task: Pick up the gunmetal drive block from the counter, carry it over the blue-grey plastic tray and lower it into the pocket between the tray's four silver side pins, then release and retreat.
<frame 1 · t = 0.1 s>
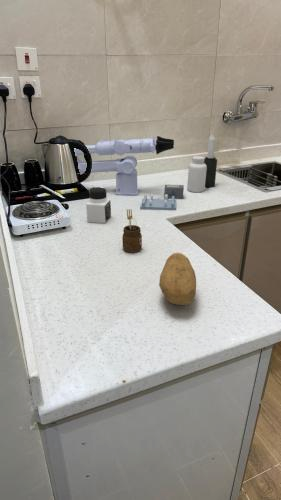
hand: (173, 143, 149), 22 cm above the worktop, tool horizontal, fingers open, 7 cm apart
tray: (158, 205, 145), on the worktop
medicine bottle: (99, 219, 132), on the worktop
potato: (176, 297, 87), on the worktop
utensil holder: (132, 249, 110), on the worktop
candle: (208, 186, 169), on the worktop
pill bottle: (195, 190, 163), on the worktop
drive: (173, 197, 154), on the worktop
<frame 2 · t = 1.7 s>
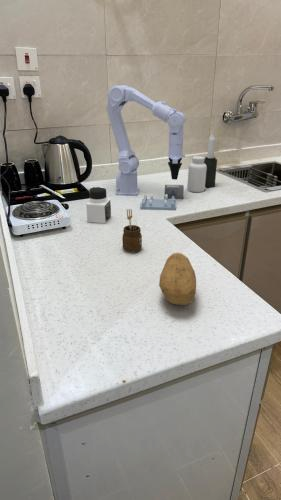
hand: (174, 176, 150), 9 cm above the worktop, tool pointing down, fingers open, 7 cm apart
nothing on the worktop moved.
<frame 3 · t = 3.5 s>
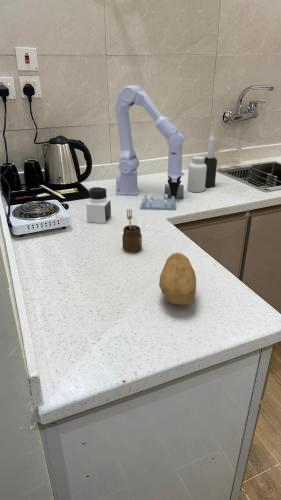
hand: (173, 194, 154), 1 cm above the worktop, tool pointing down, fingers closed on drive, 4 cm apart
drive: (173, 197, 154), on the worktop, touching gripper
everything else where it was.
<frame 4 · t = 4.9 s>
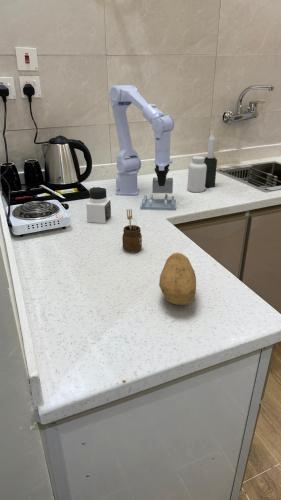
hand: (161, 184, 143), 8 cm above the worktop, tool pointing down, fingers closed on drive, 4 cm apart
drive: (162, 191, 144), point 5 cm above the worktop, touching gripper
everything else where it was.
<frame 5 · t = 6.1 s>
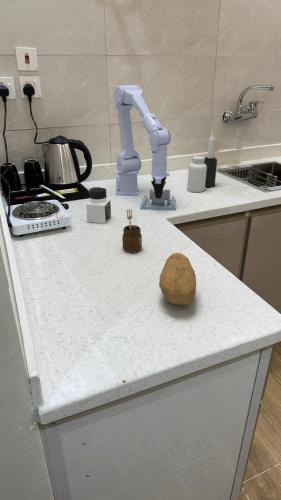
hand: (158, 196, 143), 4 cm above the worktop, tool pointing down, fingers closed on drive, 4 cm apart
drive: (159, 203, 145), point 1 cm above the worktop, touching gripper, tray
everything else where it was.
when the fingers open (4 cm above the worktop, at t = 6.8 s): drive stays where it is, resting on tray.
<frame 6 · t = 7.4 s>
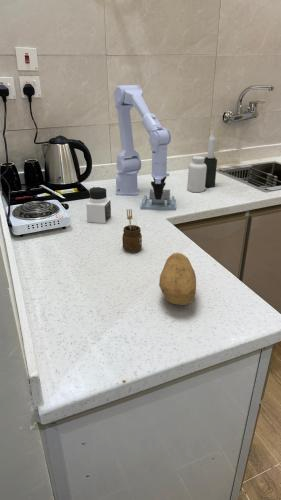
hand: (158, 196, 143), 4 cm above the worktop, tool pointing down, fingers open, 7 cm apart
drive: (159, 203, 145), point 1 cm above the worktop, touching tray
everything else where it was.
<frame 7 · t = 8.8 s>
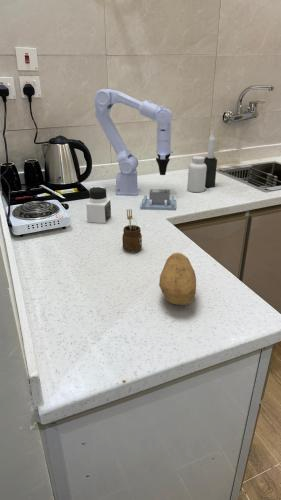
hand: (163, 172, 153), 10 cm above the worktop, tool pointing down, fingers open, 7 cm apart
nothing on the worktop moved.
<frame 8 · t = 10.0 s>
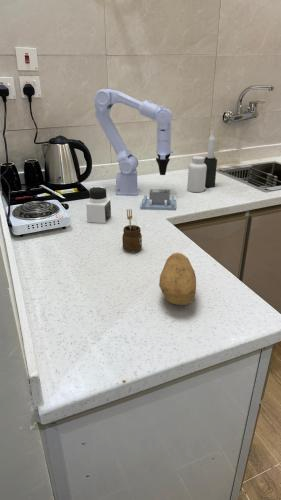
hand: (163, 172, 153), 10 cm above the worktop, tool pointing down, fingers open, 7 cm apart
nothing on the worktop moved.
at the end: drive 0.4 cm off-centre on the tray, point 1.0 cm above the tray's base; drive tilted 0°; the gripper is holding nothing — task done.
